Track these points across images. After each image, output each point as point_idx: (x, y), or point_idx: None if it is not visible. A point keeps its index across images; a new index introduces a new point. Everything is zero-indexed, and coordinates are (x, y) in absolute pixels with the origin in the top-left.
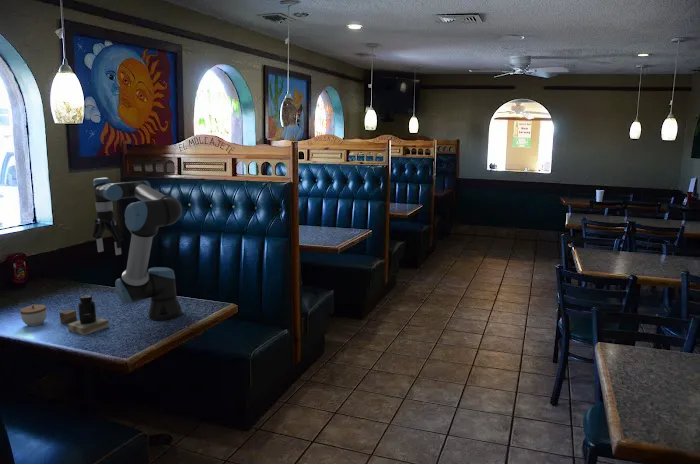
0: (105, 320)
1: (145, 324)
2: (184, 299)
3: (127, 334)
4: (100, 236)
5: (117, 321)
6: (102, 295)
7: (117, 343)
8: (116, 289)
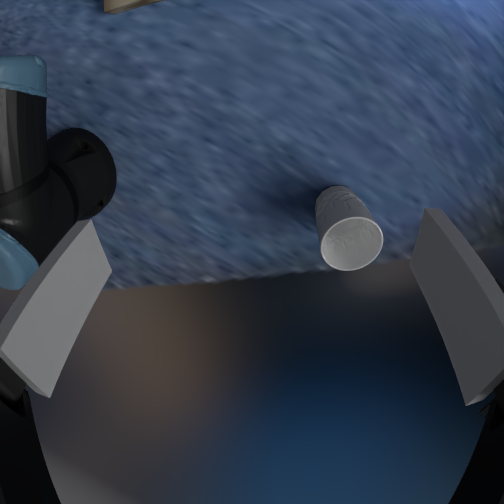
0: (109, 5)
1: (53, 100)
2: (162, 274)
3: (32, 40)
4: (492, 422)
5: (133, 48)
6: (433, 192)
7: (12, 11)
8: (21, 55)
